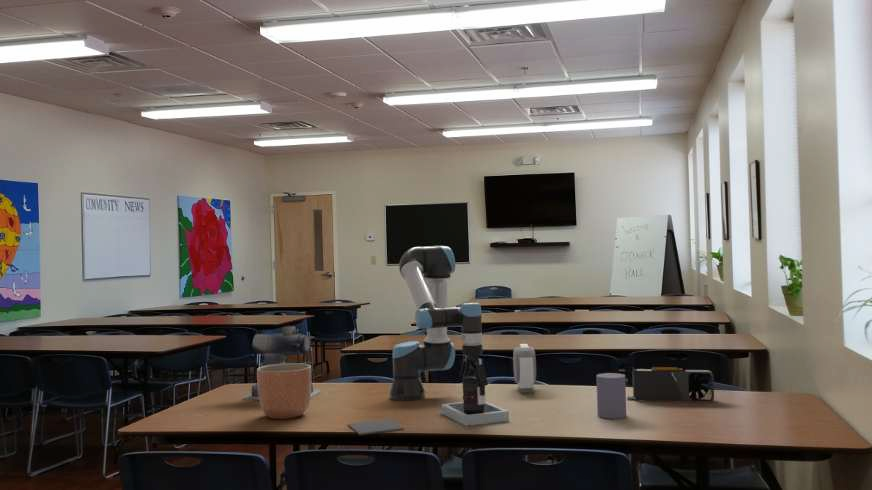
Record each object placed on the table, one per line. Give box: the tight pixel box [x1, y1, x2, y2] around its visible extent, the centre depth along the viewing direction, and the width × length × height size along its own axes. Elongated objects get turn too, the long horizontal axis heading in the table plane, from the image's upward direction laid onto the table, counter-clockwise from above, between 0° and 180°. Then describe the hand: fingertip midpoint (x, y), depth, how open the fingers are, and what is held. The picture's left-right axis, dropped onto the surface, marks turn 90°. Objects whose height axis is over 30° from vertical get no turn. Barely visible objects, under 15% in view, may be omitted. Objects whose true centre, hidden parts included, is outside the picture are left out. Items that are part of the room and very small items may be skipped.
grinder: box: [241, 325, 323, 401], centre depth 334 cm, size 18×31×31 cm, turn 79°
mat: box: [347, 418, 404, 436], centre depth 268 cm, size 16×16×1 cm
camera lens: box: [462, 375, 485, 415], centre depth 280 cm, size 8×8×15 cm
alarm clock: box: [512, 343, 537, 394], centre depth 329 cm, size 18×8×20 cm, turn 179°
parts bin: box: [440, 400, 510, 427], centre depth 280 cm, size 23×17×4 cm
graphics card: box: [626, 366, 715, 403], centre depth 299 cm, size 33×5×14 cm, turn 75°
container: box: [596, 372, 627, 420], centre depth 275 cm, size 10×10×15 cm
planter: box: [256, 362, 312, 420], centre depth 291 cm, size 21×21×19 cm
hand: (474, 401), depth 280 cm, fingers open, 13 cm apart
